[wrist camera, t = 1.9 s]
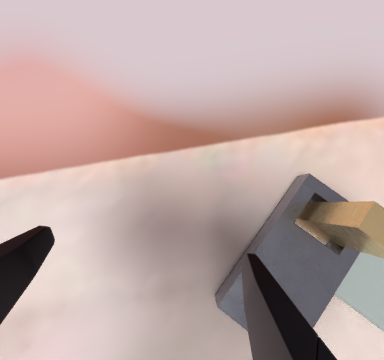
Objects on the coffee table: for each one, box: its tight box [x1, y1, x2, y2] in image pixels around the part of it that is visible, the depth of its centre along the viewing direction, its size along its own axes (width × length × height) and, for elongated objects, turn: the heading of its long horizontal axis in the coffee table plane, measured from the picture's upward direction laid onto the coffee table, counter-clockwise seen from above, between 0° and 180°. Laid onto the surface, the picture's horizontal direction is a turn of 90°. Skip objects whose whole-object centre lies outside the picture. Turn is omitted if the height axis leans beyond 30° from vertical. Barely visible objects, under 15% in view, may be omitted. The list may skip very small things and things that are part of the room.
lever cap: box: [296, 202, 384, 258], centre depth 19 cm, size 3×4×10 cm, turn 53°
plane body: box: [215, 174, 360, 331], centre depth 20 cm, size 18×9×6 cm, turn 143°
